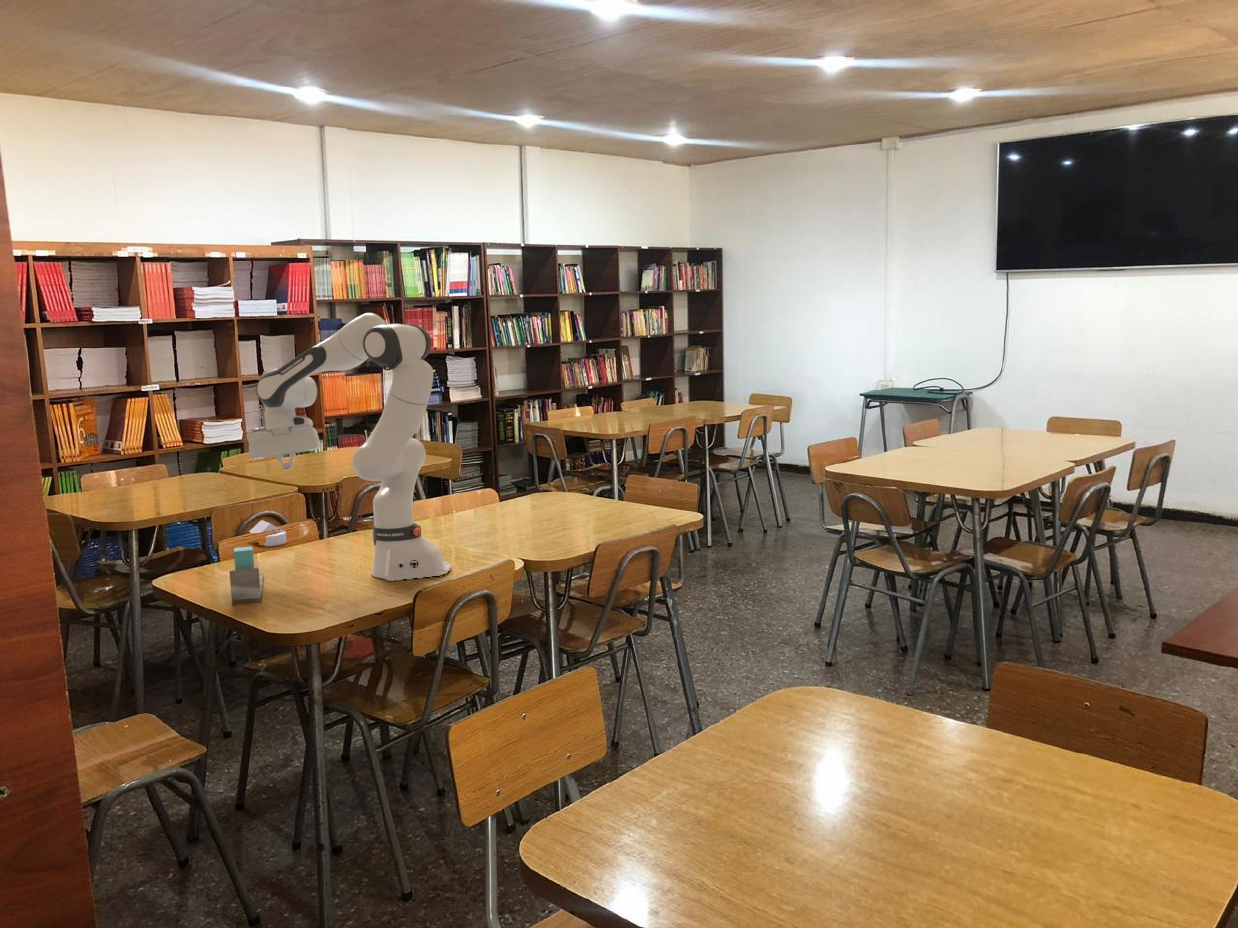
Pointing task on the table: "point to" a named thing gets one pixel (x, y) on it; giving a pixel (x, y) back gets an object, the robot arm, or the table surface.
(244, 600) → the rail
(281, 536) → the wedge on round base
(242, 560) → the block
